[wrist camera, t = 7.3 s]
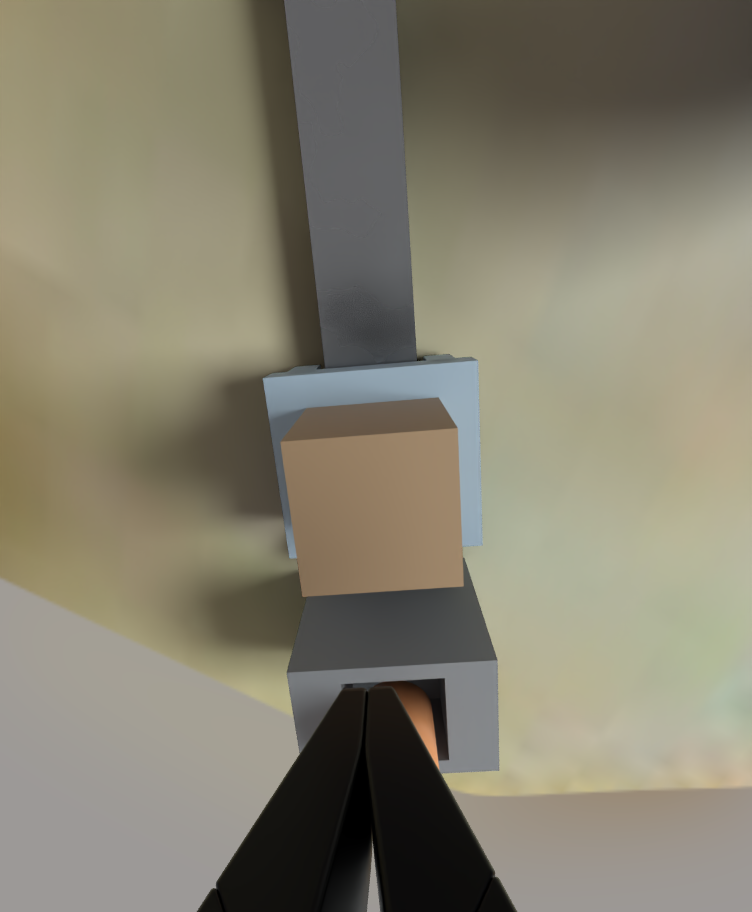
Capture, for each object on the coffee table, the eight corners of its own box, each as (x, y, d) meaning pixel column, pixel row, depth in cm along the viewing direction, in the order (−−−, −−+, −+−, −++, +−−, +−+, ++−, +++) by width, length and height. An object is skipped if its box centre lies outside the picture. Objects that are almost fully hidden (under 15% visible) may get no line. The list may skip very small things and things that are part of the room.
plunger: (430, 677, 15) (441, 767, 12) (433, 736, 15) (445, 835, 12) (356, 682, 15) (349, 771, 12) (363, 740, 15) (358, 839, 13)
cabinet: (464, 557, 20) (497, 660, 14) (467, 642, 21) (499, 770, 15) (314, 567, 20) (286, 672, 14) (325, 651, 21) (303, 780, 15)
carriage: (463, 352, 17) (511, 379, 11) (469, 512, 19) (513, 618, 12) (280, 367, 17) (220, 402, 11) (302, 524, 19) (260, 634, 13)
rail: (423, -87, 14) (429, -150, 12) (450, 542, 19) (458, 567, 18) (248, -66, 14) (227, -125, 12) (325, 551, 20) (318, 577, 18)
